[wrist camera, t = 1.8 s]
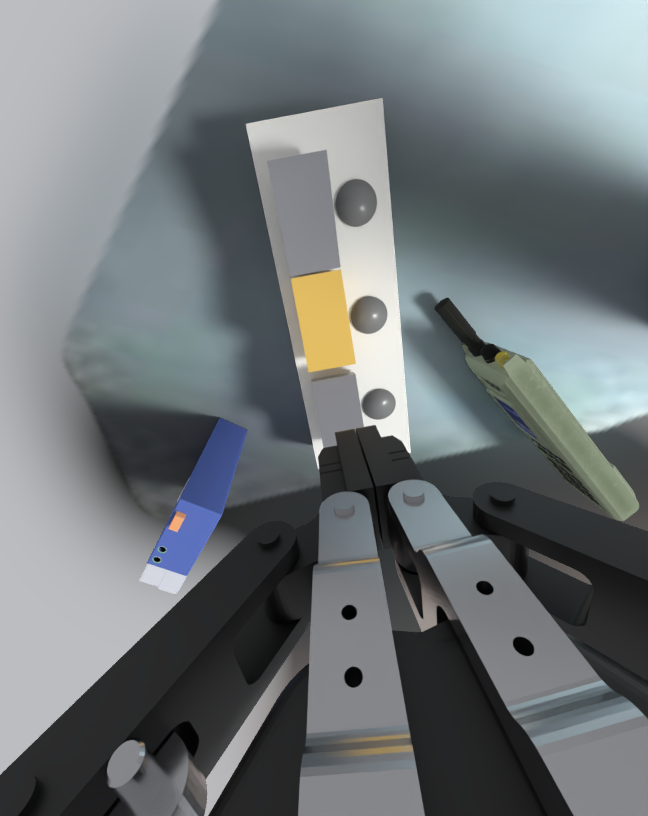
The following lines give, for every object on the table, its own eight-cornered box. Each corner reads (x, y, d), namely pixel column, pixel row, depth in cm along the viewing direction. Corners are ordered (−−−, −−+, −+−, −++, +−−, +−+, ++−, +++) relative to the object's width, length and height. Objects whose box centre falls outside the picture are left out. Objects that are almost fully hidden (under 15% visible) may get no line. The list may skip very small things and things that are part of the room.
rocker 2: (353, 371, 26) (355, 374, 25) (365, 446, 28) (368, 453, 26) (311, 379, 26) (311, 382, 25) (325, 453, 28) (325, 460, 26)
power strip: (369, 122, 24) (382, 96, 20) (398, 431, 33) (411, 453, 30) (254, 144, 24) (245, 122, 20) (316, 445, 34) (318, 470, 30)
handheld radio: (561, 484, 37) (418, 316, 29) (588, 464, 37) (449, 286, 29) (615, 527, 31) (452, 329, 23) (648, 504, 31) (493, 292, 22)
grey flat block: (323, 150, 20) (326, 149, 18) (337, 261, 23) (340, 267, 22) (267, 160, 20) (266, 160, 18) (290, 269, 23) (290, 276, 22)
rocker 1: (339, 273, 24) (340, 269, 22) (353, 362, 25) (355, 363, 23) (292, 282, 24) (290, 278, 22) (308, 370, 25) (308, 372, 23)
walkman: (219, 416, 32) (176, 502, 21) (247, 429, 32) (221, 519, 21) (186, 481, 34) (133, 587, 23) (213, 491, 35) (174, 600, 24)
